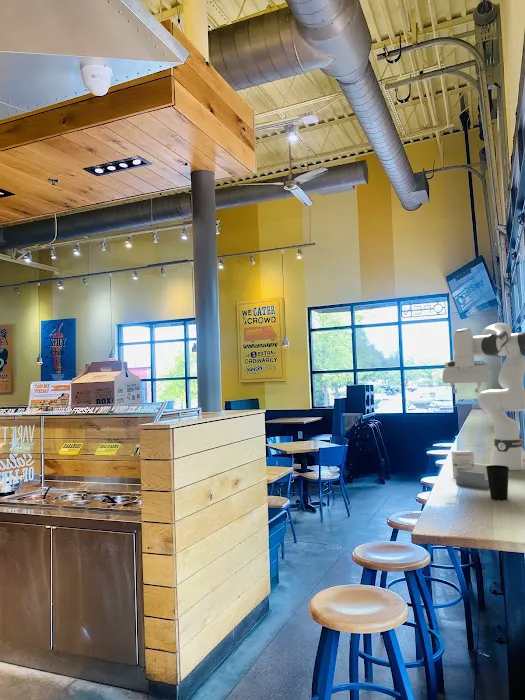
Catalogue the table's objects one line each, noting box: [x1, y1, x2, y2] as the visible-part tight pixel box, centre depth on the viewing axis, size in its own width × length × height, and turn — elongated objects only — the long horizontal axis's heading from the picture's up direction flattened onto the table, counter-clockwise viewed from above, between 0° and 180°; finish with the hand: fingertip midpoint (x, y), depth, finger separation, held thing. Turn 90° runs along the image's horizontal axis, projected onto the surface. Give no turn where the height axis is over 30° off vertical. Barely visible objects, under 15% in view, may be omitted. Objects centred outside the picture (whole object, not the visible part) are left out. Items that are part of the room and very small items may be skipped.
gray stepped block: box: [455, 470, 490, 489], centre depth 219 cm, size 16×13×6 cm
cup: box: [486, 464, 510, 502], centre depth 191 cm, size 8×8×12 cm
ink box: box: [451, 450, 475, 478], centre depth 235 cm, size 9×5×12 cm, turn 84°
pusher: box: [474, 462, 490, 479], centre depth 221 cm, size 5×10×7 cm, turn 39°
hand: (465, 392), depth 237 cm, fingers open, 8 cm apart
